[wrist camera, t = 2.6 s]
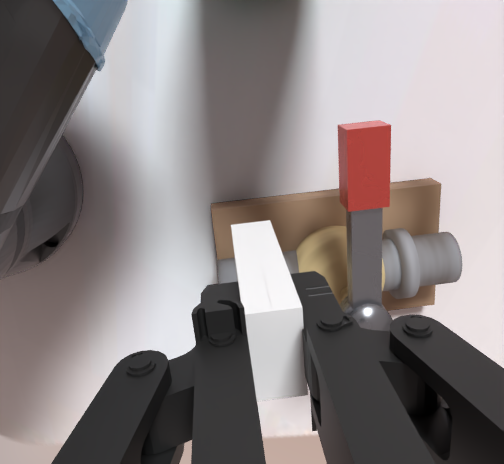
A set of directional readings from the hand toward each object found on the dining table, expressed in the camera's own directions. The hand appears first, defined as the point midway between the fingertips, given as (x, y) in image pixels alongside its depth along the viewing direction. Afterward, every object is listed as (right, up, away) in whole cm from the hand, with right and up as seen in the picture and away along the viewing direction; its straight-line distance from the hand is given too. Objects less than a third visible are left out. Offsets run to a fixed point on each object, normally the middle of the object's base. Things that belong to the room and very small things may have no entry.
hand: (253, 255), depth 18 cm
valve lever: (+7, +1, +14) cm, 15 cm away
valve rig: (+7, -1, +26) cm, 27 cm away
